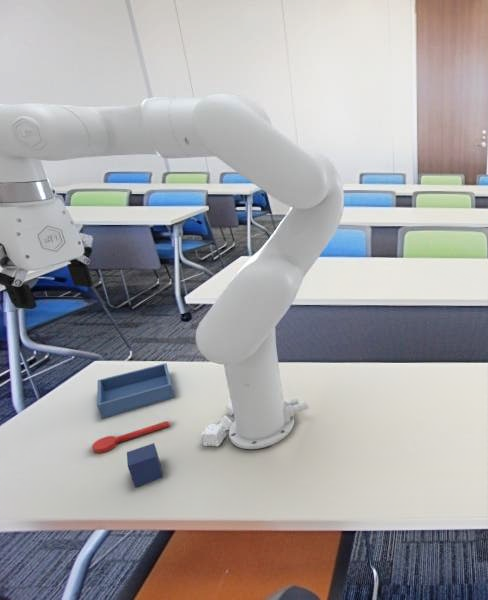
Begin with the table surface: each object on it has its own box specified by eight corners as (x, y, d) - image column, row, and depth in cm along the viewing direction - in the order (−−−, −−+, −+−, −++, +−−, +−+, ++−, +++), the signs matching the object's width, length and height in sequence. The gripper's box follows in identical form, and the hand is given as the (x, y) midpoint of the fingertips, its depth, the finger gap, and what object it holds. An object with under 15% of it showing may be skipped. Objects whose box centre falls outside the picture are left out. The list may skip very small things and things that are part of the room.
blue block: (160, 463, 75) (154, 442, 73) (162, 477, 72) (156, 456, 70) (134, 473, 73) (126, 452, 71) (135, 487, 70) (127, 466, 68)
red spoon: (169, 420, 86) (167, 416, 85) (171, 430, 83) (169, 425, 83) (93, 444, 78) (91, 440, 78) (93, 456, 76) (91, 451, 75)
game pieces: (219, 447, 79) (216, 434, 78) (202, 446, 79) (199, 434, 78) (247, 408, 90) (244, 396, 89) (232, 408, 90) (229, 396, 89)
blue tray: (169, 374, 101) (166, 362, 99) (175, 397, 93) (171, 384, 91) (102, 392, 93) (97, 380, 92) (101, 418, 85) (97, 405, 84)
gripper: (-27, 203, 52) (22, 320, 59) (93, 187, 68) (121, 280, 75) (-78, 199, 53) (-24, 315, 60) (53, 184, 69) (84, 277, 75)
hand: (57, 296), depth 67 cm, fingers open, 9 cm apart
